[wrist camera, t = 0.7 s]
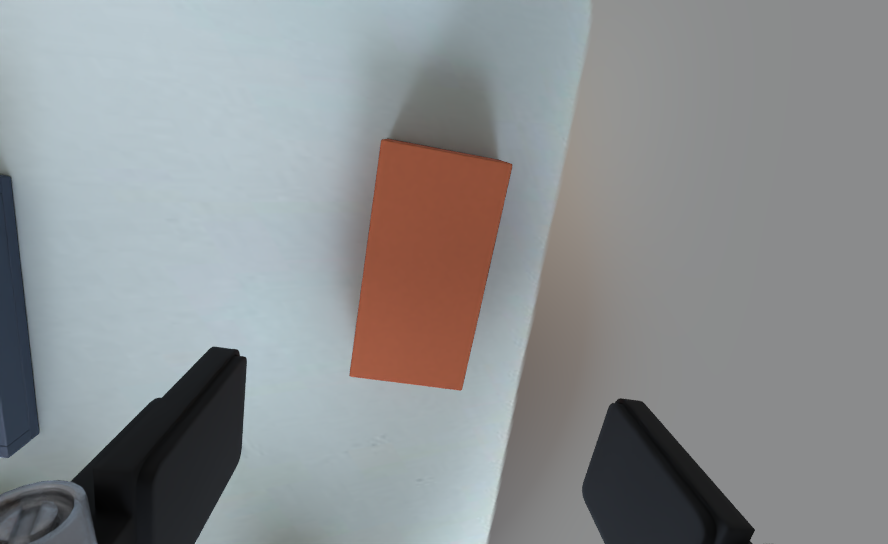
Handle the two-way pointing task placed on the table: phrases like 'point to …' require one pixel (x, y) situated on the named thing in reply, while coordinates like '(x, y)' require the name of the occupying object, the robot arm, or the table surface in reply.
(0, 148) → the table surface
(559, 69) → the table surface
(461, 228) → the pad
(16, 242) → the pad frame
